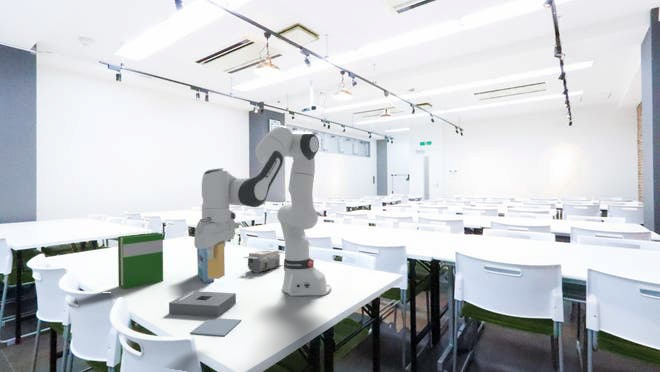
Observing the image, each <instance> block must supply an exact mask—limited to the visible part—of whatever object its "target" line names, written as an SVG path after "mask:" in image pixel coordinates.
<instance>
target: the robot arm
mask: <svg viewBox="0 0 660 372" xmlns="http://www.w3.org/2000/svg"><path fill="white" fill-rule="evenodd" d="M319 148H320V142H319V139H318V136H317V135H316V134H315V133H313V132H308V131H305V132H303V131H301V132H300V131H294V132H292V131H291V129H290V128H288V127H287V126H284V125H277V126H275V127H273V128H272V129H271V130H270V131H269V132H267V134H265V135H264V136H263V138H262V139H261V140H259V142H258V143H257V145H256V147H255V156H256V159H257V160H258V161H259V163H260V164H262V167H261V168H260V169H259V171H258V172H257V174H256V175H254V176H252V177H248V178H247V177H246V178H238V177H236V176H234V175H233V174H231V173H230V172H228V170H227V169H226V168H212V169H208V170H206V171H205V172H204V173H203V175H202V178H201V198H202V205H201V219H199V221H198V223H197V225H196V227H195V229H194V231H195V232H194V241H193V243H194V247H195V248H196V249H197V248H198V249H205V248H206V251H207V253H208V259H214V258H215V253H214V251H213V249H214V245H217V244H218V242H221V241H224V249H225V247H226V243H227V242H228V241H230V240H231V241H232V240H234V238H235V235H236V233H235V232H236V223H235V220H236V217H237V216H236V213H235V212H233V211H231V210H230V205H231V206H246V207H250V208H251V207H252V208H258V207H260V206H262V205H263V204H264V203H265V201H266V199H267V197H268V194H269V191H270V189H271V187H272V184H273V182H274V181H275V179H276V177H277V175H278V174H279V171H280V170H281V168H282V166H283V164H284V158H285V157H288V158H292V163H291V168H290V174H289V175H290V176H289V182H288V183H289V184H288V192H289V194H290V200H291V203H287V204H284V205H282V206H281V207H279V208H278V211H277V215H276V216H277V220H278V222H279V223H280V226H281V231H282V235H283V240H284V253H285V254H284V259H283V269H284V275H283V276H284V277H283V284H282V288H281V291H282V292H284V293H286V294H288V295H289V296H291V297H293V296H295V297H298V296H299V297H300V296H303V297H304V296H325V295H327V294H329V293H330V292H331V290H332V286H331V284H330V283H327V279H326V276H325V274H324V273H323V272H321V271H320V270H319V269H318V268H316V267H315V266H314V262H315V260H314V258H311V257H310V242H309V239H308V237H307V235H306V231H305V230H311V229H312V228H314V227H315V226H316V225H317V223H318V220H319V216H318V212H317V211H316V208H315V206H314V199H313V189H314V180H315V171H316V170H315V169H316V165H315V164H316V161H315V156H316V155H317V153H318V151H319Z"/></svg>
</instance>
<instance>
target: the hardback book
mask: <svg viewBox="0 0 660 372" xmlns="http://www.w3.org/2000/svg"><path fill="white" fill-rule="evenodd" d="M163 235H164V234H163V233H161V232H149V233H142V234H141V233H140V234H139V233H138V234H132V235H131V234H129V235H123V236H117V252H118V255H117V257H118V258H117V259H118V260H117V263H118V264H117V265H118V268H117V269H118V270H117V271H118V287H119V288H121V287H122V290H129V289H133V288H137V287H143V286H146V285H151V284H156V283H159V282H160V283H161V282H163V281H164V243H163V242H164V240H163V237H164V236H163Z"/></svg>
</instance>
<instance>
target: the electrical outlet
mask: <svg viewBox="0 0 660 372" xmlns="http://www.w3.org/2000/svg"><path fill="white" fill-rule="evenodd" d="M283 253H284V252H283V251H280V250H277V249H262V250H258V251H257V250H256V251H253V252H249V253H248V256H243V259H247V268H248V270H250V271H252V272H253V273H261V272H263V271H267V270H270V269H273V268H277V267H280V261H281V259H280V257H281V256H280V255H281V254H283Z"/></svg>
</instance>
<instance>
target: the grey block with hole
mask: <svg viewBox="0 0 660 372" xmlns="http://www.w3.org/2000/svg"><path fill="white" fill-rule="evenodd" d="M236 303H237V295H236V293H234V292H233V293H232V292H220V291H219V292H218V291H199V290H198V291H197V290H190V291H189V292H186V293H184V294H182V295H181V296H180V297H177V298H175V299H174V300H172V301H170V302H168V314H169V315H171V314H172V315H186V316H187V315H188V316H200V317H211V318H219V317H220V316H221V315H223V314H224V313H225V312H226V311H228V310H230V308H232V307H233V306H235V304H236Z"/></svg>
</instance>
